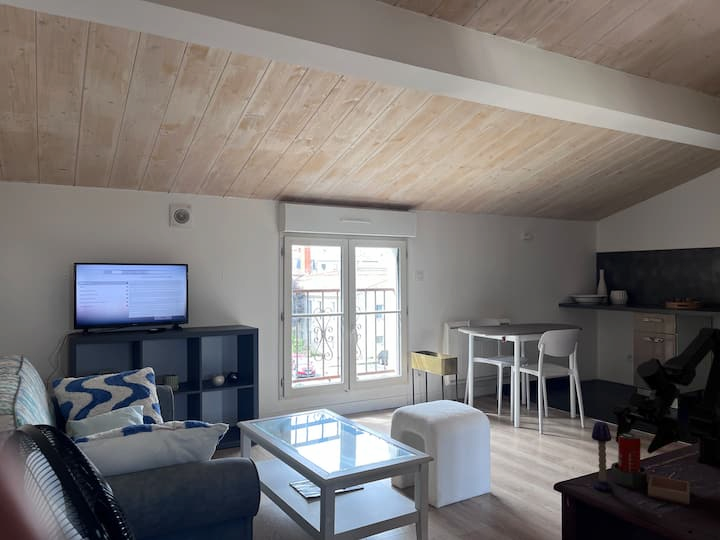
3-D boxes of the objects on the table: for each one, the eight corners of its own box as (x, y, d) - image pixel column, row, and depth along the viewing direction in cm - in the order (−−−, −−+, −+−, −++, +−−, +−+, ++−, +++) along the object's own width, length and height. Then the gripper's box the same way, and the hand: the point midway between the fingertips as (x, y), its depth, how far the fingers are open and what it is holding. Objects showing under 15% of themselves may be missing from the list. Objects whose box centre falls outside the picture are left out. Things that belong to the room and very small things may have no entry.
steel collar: (613, 472, 149) (613, 460, 149) (648, 479, 145) (648, 465, 145) (609, 483, 142) (609, 469, 142) (646, 490, 138) (646, 476, 138)
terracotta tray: (650, 484, 141) (650, 474, 141) (689, 491, 137) (689, 481, 137) (647, 496, 134) (647, 486, 134) (689, 504, 129) (689, 494, 129)
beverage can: (633, 486, 140) (634, 439, 140) (614, 480, 144) (614, 434, 144) (644, 482, 143) (644, 436, 143) (624, 475, 147) (624, 431, 147)
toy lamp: (604, 494, 135) (604, 426, 135) (587, 487, 139) (587, 422, 139) (615, 489, 138) (615, 423, 138) (598, 483, 142) (599, 419, 142)
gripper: (615, 375, 154) (587, 419, 149) (680, 388, 138) (651, 438, 133) (634, 400, 158) (607, 444, 153) (699, 416, 141) (671, 465, 136)
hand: (632, 447), depth 144 cm, fingers open, 9 cm apart
